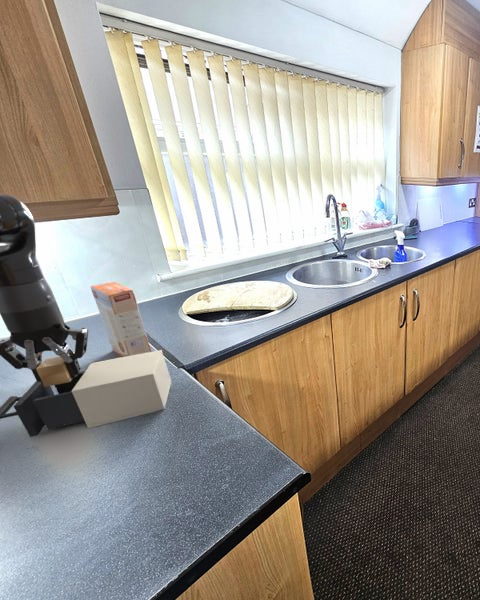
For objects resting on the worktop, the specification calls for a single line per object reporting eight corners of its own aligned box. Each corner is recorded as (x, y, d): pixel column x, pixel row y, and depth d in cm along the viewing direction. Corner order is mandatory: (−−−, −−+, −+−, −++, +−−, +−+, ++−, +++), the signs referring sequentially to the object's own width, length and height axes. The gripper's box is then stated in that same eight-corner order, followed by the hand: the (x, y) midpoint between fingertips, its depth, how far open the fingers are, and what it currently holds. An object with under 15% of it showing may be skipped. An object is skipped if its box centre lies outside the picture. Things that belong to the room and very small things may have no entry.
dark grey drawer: (-5, 446, 63) (-24, 414, 61) (23, 413, 72) (7, 383, 69) (108, 418, 71) (96, 388, 68) (121, 391, 79) (110, 363, 76)
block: (44, 387, 66) (35, 368, 65) (53, 376, 70) (45, 359, 68) (70, 382, 68) (62, 363, 66) (77, 372, 71) (70, 354, 70)
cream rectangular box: (88, 428, 69) (71, 391, 66) (104, 397, 79) (91, 362, 75) (164, 409, 75) (153, 373, 71) (171, 382, 84) (161, 349, 81)
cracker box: (154, 355, 96) (133, 289, 89) (130, 365, 92) (106, 295, 84) (135, 342, 104) (114, 280, 96) (112, 350, 99) (88, 285, 91)
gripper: (82, 292, 69) (109, 362, 75) (-13, 303, 63) (24, 378, 69) (68, 304, 62) (98, 379, 69) (-40, 317, 57) (3, 398, 63)
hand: (60, 378), depth 69 cm, fingers closed on block, 4 cm apart
